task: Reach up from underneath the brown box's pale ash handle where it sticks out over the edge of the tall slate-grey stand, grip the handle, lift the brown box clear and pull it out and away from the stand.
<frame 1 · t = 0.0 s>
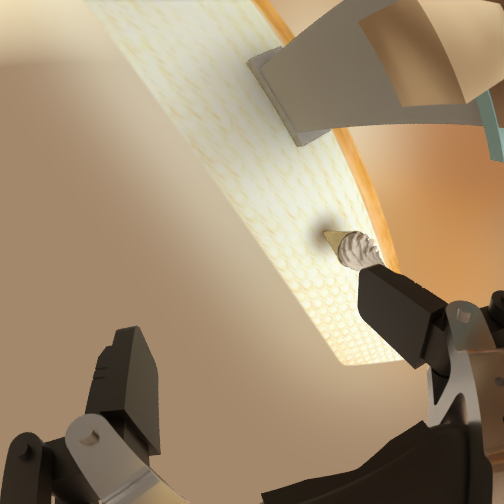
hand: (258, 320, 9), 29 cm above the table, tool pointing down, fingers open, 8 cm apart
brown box: (482, 36, 7), point 30 cm above the table, touching stand
stand: (287, 96, 34), on the table
ice cream cone: (323, 232, 43), on the table
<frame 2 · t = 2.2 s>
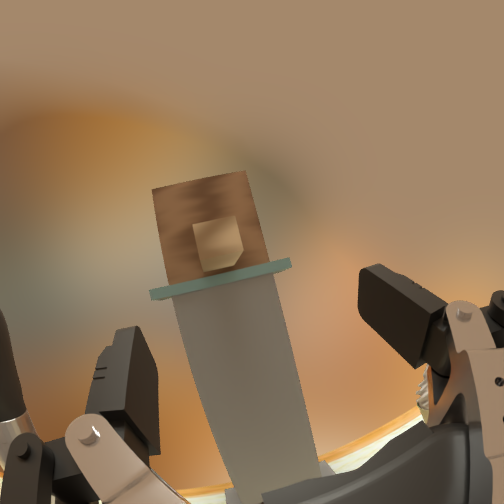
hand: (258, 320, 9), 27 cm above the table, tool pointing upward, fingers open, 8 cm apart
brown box: (219, 276, 29), point 30 cm above the table, touching stand
stand: (282, 495, 25), on the table
ice cream cone: (434, 445, 24), on the table
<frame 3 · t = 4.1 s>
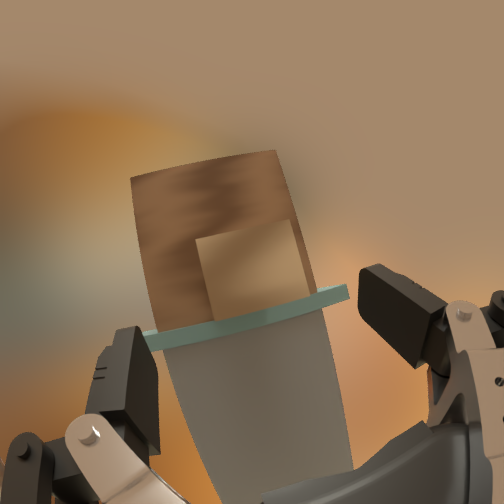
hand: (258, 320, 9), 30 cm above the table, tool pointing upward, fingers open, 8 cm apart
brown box: (236, 312, 18), point 30 cm above the table, touching stand
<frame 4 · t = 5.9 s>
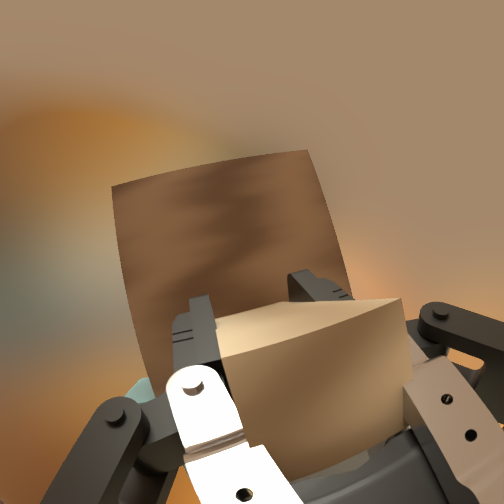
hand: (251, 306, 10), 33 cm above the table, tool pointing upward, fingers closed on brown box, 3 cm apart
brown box: (256, 363, 14), point 30 cm above the table, touching gripper, stand
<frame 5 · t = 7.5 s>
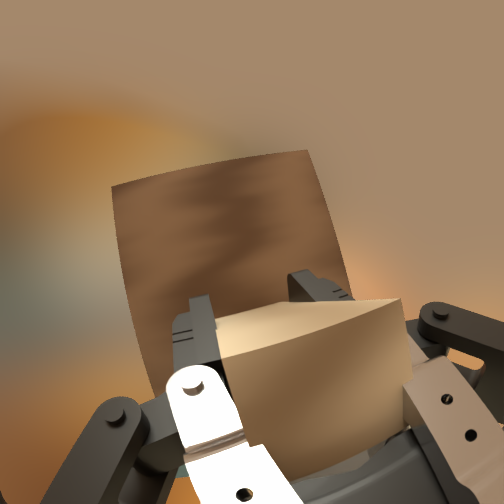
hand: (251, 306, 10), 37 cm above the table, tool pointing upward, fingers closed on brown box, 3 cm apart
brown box: (256, 363, 14), point 34 cm above the table, touching gripper
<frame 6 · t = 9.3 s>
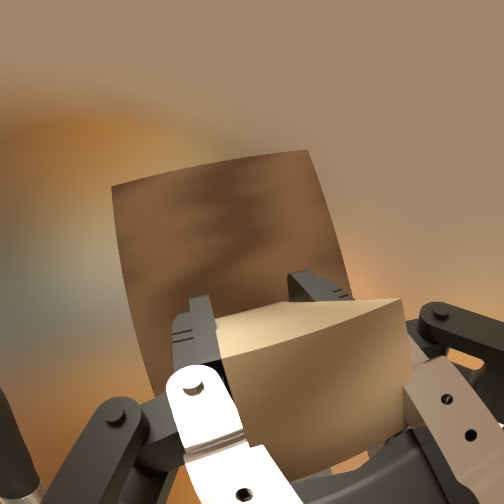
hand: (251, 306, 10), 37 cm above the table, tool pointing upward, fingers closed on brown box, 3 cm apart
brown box: (256, 363, 14), point 34 cm above the table, touching gripper
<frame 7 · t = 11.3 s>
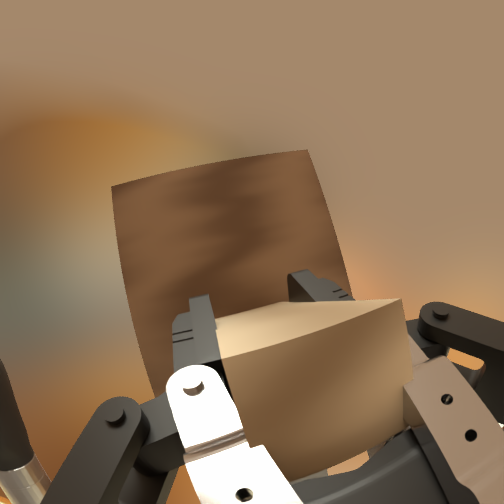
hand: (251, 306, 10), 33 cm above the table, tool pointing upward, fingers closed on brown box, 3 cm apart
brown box: (256, 363, 14), point 30 cm above the table, touching gripper
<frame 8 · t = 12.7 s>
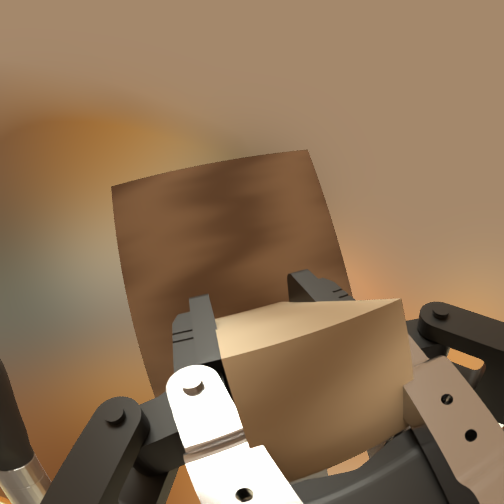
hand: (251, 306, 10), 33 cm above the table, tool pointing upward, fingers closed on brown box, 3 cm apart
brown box: (256, 363, 14), point 30 cm above the table, touching gripper
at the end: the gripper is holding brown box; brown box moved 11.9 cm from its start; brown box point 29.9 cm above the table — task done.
